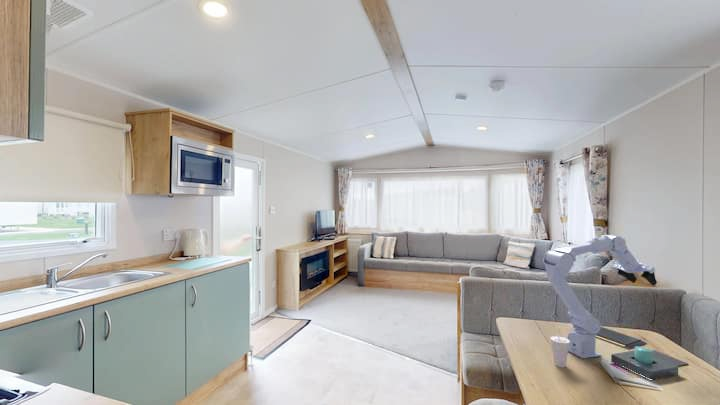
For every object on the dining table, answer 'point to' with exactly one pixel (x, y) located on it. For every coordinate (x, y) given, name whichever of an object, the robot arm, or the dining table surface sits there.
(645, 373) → the housing
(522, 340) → the dining table surface
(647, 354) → the end cap
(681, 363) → the mat
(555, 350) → the smoothie
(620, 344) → the grey book
